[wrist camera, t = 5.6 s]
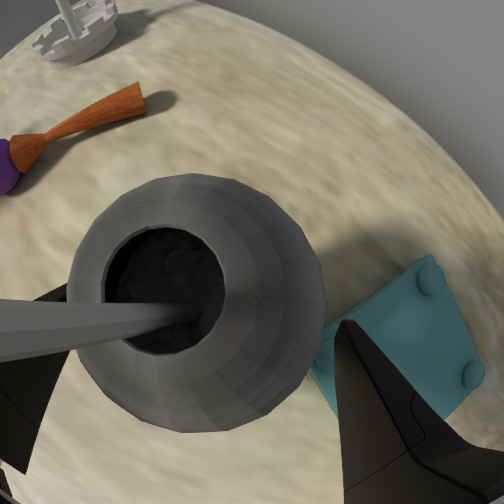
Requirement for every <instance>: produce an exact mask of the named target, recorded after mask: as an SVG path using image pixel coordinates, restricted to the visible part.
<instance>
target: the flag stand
mask: <svg viewBox="0 0 504 504" xmlns="http://www.w3.org/2000/svg"><path fill="white" fill-rule="evenodd" d="M55 1H56V3H57V5H58V7H59V10H60V12H61V14H62V16H63V18H64V20H63V21H62V19H61V17H58V18H56V19H55V20H53V21H52V22H51V23H50V24H48V25H47V26H46V27H47V29H48V32H47V33H46V34H45V35H44V36H43V35H42V34H40V35H38V36H36V38H35V39H34V41H33V43H32V46H33V47H34V48H33V49H32V50H33V52H34V53H35V55H36V57H37V58H38V60H39V61H44V62H47V61H48V62H49V64H50V65H51V67H52V69H54V70H64V69H68V68H71V67H73V66H76V65H78V64H80V63H82V62H84V61H86V60H88V59H89V58H91V57H93V56H94V55H96V54H97V53H98V52H100V51H101V50H103V49H104V48H105V47H106V46H107V45H108V44H109V43H110V42H111V41H112V40H113V39H114V37H115V35H116V33H117V29H116V27H115V24H114V22H115V20H116V19H117V17H118V10H117V7H116V4H115V1H113V2H111V0H97V1H96V3H97V5H94V6H91V7H90V6H89V4H88V2H86V3H83V4H81V5H79V6H77V7H74V8H73V11H74V13H73V11H72V9H71V6H70V4H69V1H68V0H55Z"/></svg>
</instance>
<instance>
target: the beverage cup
mask: <svg viewBox="0 0 504 504" xmlns="http://www.w3.org/2000/svg"><path fill="white" fill-rule="evenodd" d="M326 310H327V303H326V296H325V290H324V284H323V277H322V272H321V266H320V263H319V261H318V259H317V257H316V255H315V253H314V251H313V250H312V248H311V246H310V244H309V242H308V240H307V238H306V236H305V234H304V232H303V231H302V229H301V227H300V226H299V225H298V224H297V223H296V222H295V221H294V220H293V219H292V218H291V217H290V216H289V215H288V214H287V213H286V212H285V211H284V210H283V209H281V208H280V207H279V206H278V205H277V204H276V203H275V202H274V201H273V200H272V199H271V198H270V197H269V196H267V195H265V194H263V193H261V192H259V191H257V190H255V189H253V188H251V187H249V186H247V185H245V184H243V183H240V182H238V181H236V180H234V179H229V178H222V177H216V176H209V175H203V174H194V173H190V174H183V175H177V176H170V177H164V178H158V179H154V180H152V181H149V182H147V183H145V184H143V185H141V186H139V187H137V188H135V189H133V190H131V191H129V192H127V193H125V194H123V195H121V196H120V197H119V198H118V199H117V200H116V201H114V202H113V203H112V204H111V205H110V206H109V207H108V208H107V209H106V210H105V211H104V212H102V213H101V214H100V215H99V216H98V217H97V218H96V219H95V220H94V222H93V223H92V225H91V227H90V228H89V230H88V232H87V233H86V235H85V237H84V238H83V240H82V242H81V243H80V245H79V247H78V248H77V250H76V253H75V256H74V260H73V264H72V267H71V271H70V275H69V279H68V283H67V302H44V301H24V300H8V299H0V362H6V361H12V360H18V359H24V358H30V357H36V356H42V355H47V354H53V353H58V352H63V351H68V350H73V349H76V351H77V353H78V356H79V359H80V361H81V363H82V364H83V366H84V367H85V369H86V370H87V371H88V373H89V374H90V376H91V377H92V378H93V380H94V381H95V382H96V384H97V385H98V386H99V388H100V389H101V390H102V392H103V393H104V394H105V395H106V396H107V397H108V398H109V399H111V400H112V401H113V402H115V403H116V404H118V405H119V406H120V407H122V408H123V409H125V410H126V411H127V412H129V413H130V414H132V415H133V416H135V417H136V418H138V419H139V420H141V421H143V422H146V423H149V424H153V425H156V426H159V427H162V428H166V429H169V430H173V431H176V432H180V433H197V432H218V431H228V430H231V429H234V428H236V427H239V426H241V425H244V424H246V423H249V422H251V421H254V420H256V419H259V418H261V417H263V416H266V415H267V414H269V413H270V412H271V411H272V410H273V409H274V408H276V407H277V406H278V405H279V404H280V403H281V402H282V401H284V400H285V399H286V398H287V397H288V396H289V395H290V394H291V393H292V392H293V391H295V390H296V389H297V388H298V387H299V386H300V384H301V382H302V380H303V379H304V377H305V375H306V373H307V371H308V370H309V368H310V366H311V364H312V362H313V361H314V359H315V357H316V355H317V353H318V351H319V349H320V345H321V340H322V334H323V328H324V322H325V316H326Z"/></svg>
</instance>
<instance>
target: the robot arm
mask: <svg viewBox="0 0 504 504" xmlns="http://www.w3.org/2000/svg"><path fill="white" fill-rule="evenodd" d="M33 301H44V302H67V283H66V284H64V285H62V286H60V287H58V288H56V289H54V290H52V291H50V292H48V293H46V294H45V295H43V296H41V297H39V298H37V299H35V300H33ZM69 352H70V350H68V351H63V352H58V353H53V354H47V355H42V356H36V357H30V358H24V359H18V360H12V361H6V362H0V467H1V464H2V462H3V461H4V462H6V463H7V464H9V465H10V466H12V467H13V468H15V469H16V470H18V471H19V472H21V473H23V474H24V475H25V474H26V472H27V469H28V465H29V461H30V458H31V454H32V451H33V447H34V444H35V441H36V438H37V434H38V431H39V430H38V429H39V428H40V425H41V422H42V419H43V416H44V414H45V411H46V408H47V405H48V403H49V400H50V397H51V395H52V392H53V390H54V387H55V385H56V382H57V380H58V378H59V375H60V373H61V371H62V368H63V366H64V364H65V361H66V359H67V357H68V355H69ZM334 382H335V392H336V401H337V410H338V420H339V431H340V442H341V455H342V469H343V487H344V504H504V452H503V451H497V450H492V449H487V448H482V447H477V446H474V445H472V444H470V443H468V442H466V441H465V440H464V439H463V438H462V437H460V436H459V435H458V434H457V433H456V432H455V431H454V430H453V429H452V428H451V427H450V426H449V425H448V424H447V423H446V422H445V421H444V420H443V419H442V418H441V417H440V416H439V415H438V414H437V413H436V412H435V411H434V410H433V409H432V408H431V407H430V406H429V404H428V403H427V402H426V401H425V400H424V399H423V398H422V397H421V395H420V394H419V393H418V392H417V391H416V390H414V387H413V386H412V385H411V384H410V383H409V381H408V380H407V379H406V378H405V377H404V376H403V374H402V373H401V372H400V371H399V370H398V369H397V367H396V366H395V365H394V364H393V363H392V362H391V361H390V359H389V358H388V357H387V356H386V355H385V354H384V353H383V351H382V350H381V349H380V348H379V347H378V346H377V345H376V344H375V342H374V341H373V340H372V339H371V338H370V337H369V336H368V335H367V333H366V332H365V331H364V330H363V329H362V328H361V327H360V326H359V324H358V323H357V322H356V321H355V320H351V319H343V320H342V321H341V322H340V325H339V327H338V330H337V332H336V335H335V338H334ZM0 504H20V503H19V502H17V501H16V500H15V499H13V498H12V494H11V491H10V488H9V485H8V483H7V480H6V477H5V473H4V470H3V469H1V468H0Z"/></svg>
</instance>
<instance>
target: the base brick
mask: <svg viewBox="0 0 504 504" xmlns="http://www.w3.org/2000/svg"><path fill="white" fill-rule="evenodd" d="M343 319H351V320H355V321H356V322H357V323H358V324H359V326H360V327H361V328H362V329H363V330H364V331H365V332H366V333H367V335H368V336H369V337H370V338H371V339H372V340H373V341H374V342H375V344H376V345H377V346H378V347H379V348H380V349H381V350H382V351H383V353H384V354H385V355H386V356H387V357H388V358H389V359H390V361H391V362H392V363H393V364H394V365H395V366H396V367H397V369H398V370H399V371H400V372H401V373H402V374H403V376H404V377H405V378H406V379H407V380H408V381H409V383H410V384H411V385H412V386H413V387H414V390H416V391H417V392H418V393H419V394H420V395H421V397H422V398H423V399H424V400H425V401H426V402H427V403H428V404H429V406H430V407H431V408H432V409H433V410H434V411H435V412H436V413H437V414H438V415H439V416H440V417H441V418H442V419H443V420H445V419H446V418H447V417H448V416H449V415H450V414H451V413H452V412H453V411H454V410H455V409H456V408H457V407H458V406H459V405H460V404H461V403H462V402H463V400H464V399H465V398H466V397H467V396H468V395H469V394H470V393H471V392H472V391H473V389H475V388H477V387H479V386H480V384H481V383H482V381H483V379H484V376H485V367H484V364H483V363H482V362H480V359H479V356H478V353H477V351H476V348H475V346H474V343H473V341H472V338H471V336H470V333H469V331H468V328H467V326H466V324H465V321H464V319H463V317H462V315H461V312H460V310H459V308H458V306H457V304H456V302H455V300H454V298H453V295H452V293H451V291H450V289H449V287H448V285H447V283H446V282H445V276H444V273H443V271H442V269H441V268H440V267H439V266H438V265H436V263H435V261H434V259H433V257H432V256H431V254H429V255H427V256H424V257H422V258H420V259H418V260H416V261H415V262H414V263H413V264H411V265H410V266H409V267H408V268H406V269H405V270H404V271H403V272H401V273H400V274H399V275H397V276H396V277H395V278H394V279H392V280H391V281H390V282H388V283H387V284H386V285H384V286H383V287H382V288H380V289H379V290H378V291H376V292H375V293H374V294H372V295H371V296H369V297H368V298H367V299H365V300H364V301H362V302H361V303H360V304H358V305H357V306H355V307H354V308H353V309H351V310H350V311H348V312H347V313H345V314H344V315H342V316H341V317H339V318H338V319H336V320H335V321H333V322H332V323H330V324H329V325H327V326H326V327H324V328H323V334H322V340H321V345H320V349H319V351H318V353H317V355H316V357H315V359H314V361H313V362H312V364H311V366H310V368H309V372H310V374H311V375H312V377H313V379H314V380H315V382H316V384H317V385H318V387H319V388H320V390H321V392H322V393H323V395H324V397H325V398H326V400H327V402H328V403H329V405H330V407H331V408H332V410H333V411H334V413H335V415H336V416H337V418H338V410H337V401H336V392H335V382H334V338H335V335H336V332H337V330H338V327H339V325H340V322H341V321H342V320H343Z"/></svg>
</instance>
